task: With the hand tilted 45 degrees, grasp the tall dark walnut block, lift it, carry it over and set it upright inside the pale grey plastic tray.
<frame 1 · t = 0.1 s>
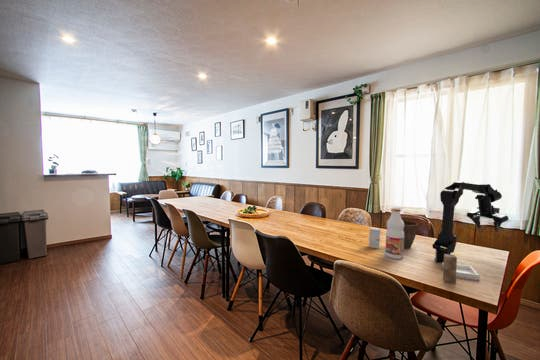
hand: (488, 229, 147), 15 cm above the table, tool pointing down, fingers open, 9 cm apart
plant pot: (404, 246, 164), on the table
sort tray: (459, 273, 123), on the table
skincare box: (374, 247, 163), on the table
walnut block: (449, 281, 114), on the table
fruit juice: (394, 256, 146), on the table
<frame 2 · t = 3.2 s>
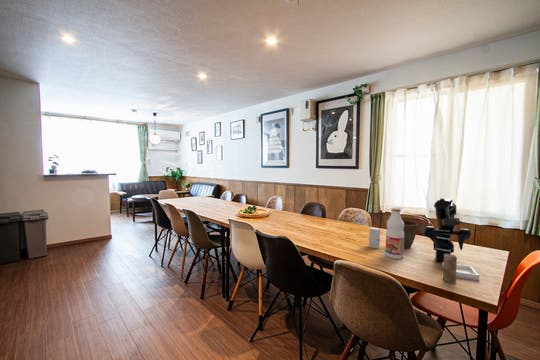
hand: (449, 248, 119), 14 cm above the table, tool tilted 45°, fingers open, 9 cm apart
nothing on the table moved.
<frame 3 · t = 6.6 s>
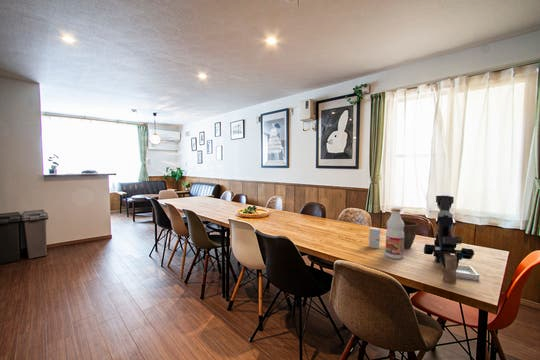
hand: (450, 268, 112), 7 cm above the table, tool tilted 45°, fingers closed on walnut block, 4 cm apart
walnut block: (449, 281, 114), on the table, touching gripper
everything else where it was.
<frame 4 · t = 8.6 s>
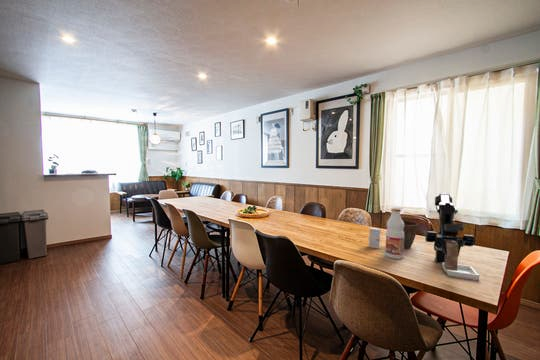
hand: (452, 255, 113), 12 cm above the table, tool tilted 45°, fingers closed on walnut block, 4 cm apart
walnut block: (450, 268, 115), point 6 cm above the table, touching gripper
everything else where it was.
when the fingers open (8 cm above the table, at t = 11.0 s): walnut block drops 1 cm, resting on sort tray.
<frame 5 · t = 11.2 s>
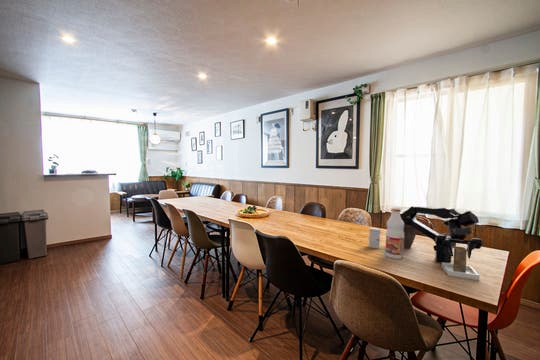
hand: (460, 257, 121), 9 cm above the table, tool tilted 45°, fingers open, 6 cm apart
plant pot: (404, 246, 164), on the table, touching arm
walnut block: (459, 272, 123), point 1 cm above the table, touching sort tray
everything else where it was.
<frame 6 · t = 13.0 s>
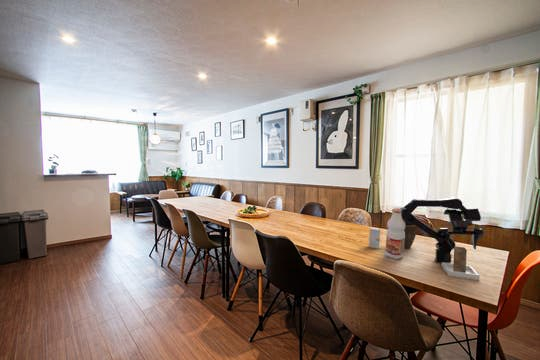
hand: (463, 248, 125), 11 cm above the table, tool tilted 40°, fingers open, 9 cm apart
plant pot: (404, 246, 164), on the table
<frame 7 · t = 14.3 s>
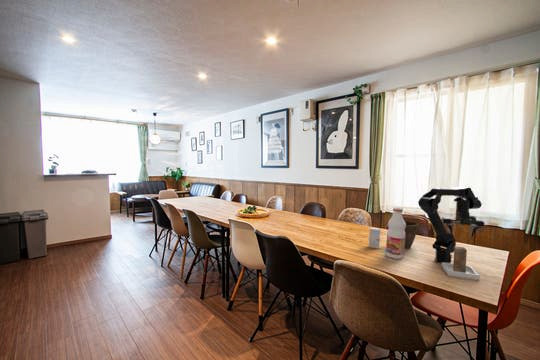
hand: (461, 236, 141), 13 cm above the table, tool pointing down, fingers open, 9 cm apart
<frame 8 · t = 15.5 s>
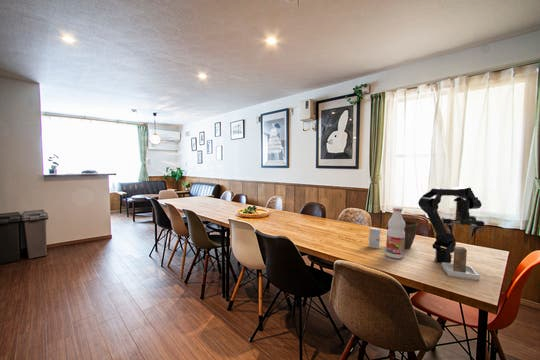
hand: (461, 236, 141), 13 cm above the table, tool pointing down, fingers open, 9 cm apart
at the end: walnut block inside the target area on the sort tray (0.1 cm from its centre), point 0.6 cm above the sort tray's base; walnut block tilted 0°; the gripper is holding nothing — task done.
